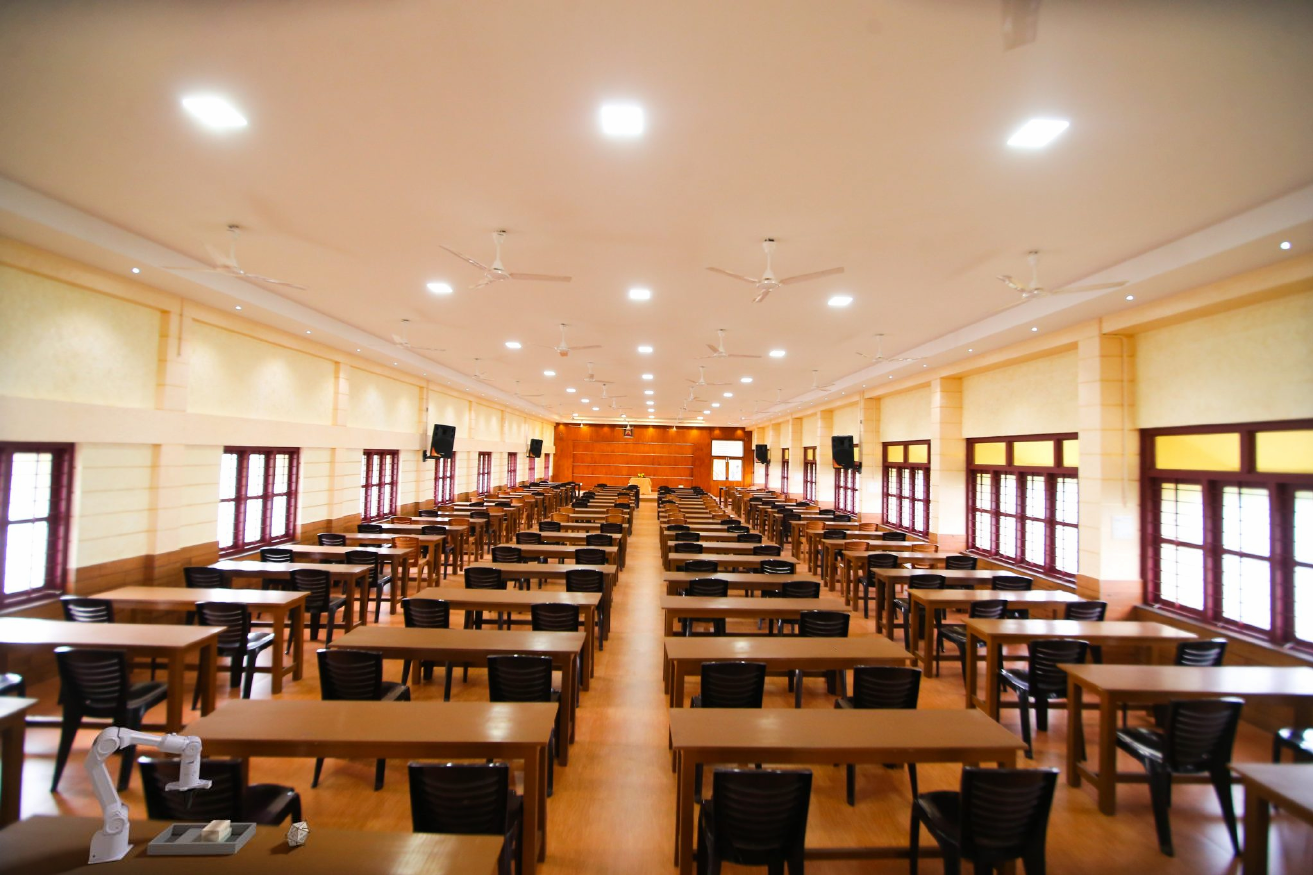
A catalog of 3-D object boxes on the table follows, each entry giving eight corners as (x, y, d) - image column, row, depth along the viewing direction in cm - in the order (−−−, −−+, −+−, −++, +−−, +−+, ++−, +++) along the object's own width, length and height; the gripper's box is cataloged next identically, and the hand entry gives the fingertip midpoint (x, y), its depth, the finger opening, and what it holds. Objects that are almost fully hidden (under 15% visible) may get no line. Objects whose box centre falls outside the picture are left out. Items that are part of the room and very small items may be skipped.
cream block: (201, 841, 209) (202, 830, 209) (212, 831, 215) (213, 820, 215) (218, 841, 210) (219, 830, 210) (229, 831, 216) (230, 820, 216)
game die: (298, 857, 212) (299, 844, 207) (277, 847, 212) (278, 834, 207) (316, 832, 220) (317, 819, 215) (296, 822, 220) (297, 810, 215)
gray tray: (146, 854, 205) (147, 844, 205) (172, 833, 217) (173, 823, 217) (234, 854, 207) (235, 843, 207) (255, 832, 219) (256, 822, 219)
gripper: (161, 777, 213) (158, 815, 212) (204, 775, 216) (202, 812, 215) (173, 767, 220) (170, 804, 219) (215, 765, 223) (213, 802, 222)
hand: (186, 807), depth 218 cm, fingers closed
